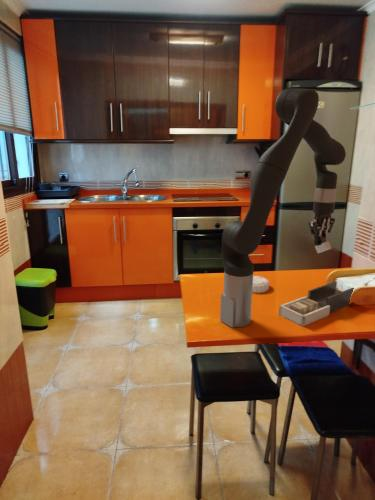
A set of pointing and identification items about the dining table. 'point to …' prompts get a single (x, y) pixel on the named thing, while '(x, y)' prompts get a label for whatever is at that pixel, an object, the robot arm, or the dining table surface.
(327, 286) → the slot block
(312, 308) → the chip
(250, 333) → the dining table surface
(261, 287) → the mooncake
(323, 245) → the scraper tool
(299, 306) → the chip
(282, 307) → the tray
